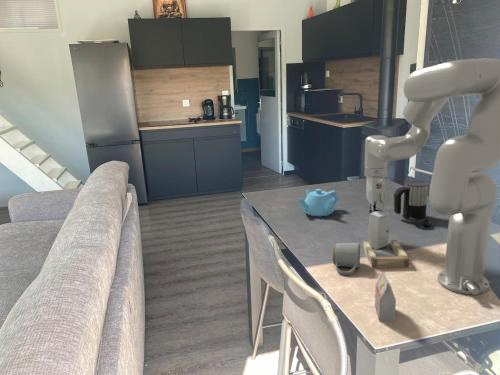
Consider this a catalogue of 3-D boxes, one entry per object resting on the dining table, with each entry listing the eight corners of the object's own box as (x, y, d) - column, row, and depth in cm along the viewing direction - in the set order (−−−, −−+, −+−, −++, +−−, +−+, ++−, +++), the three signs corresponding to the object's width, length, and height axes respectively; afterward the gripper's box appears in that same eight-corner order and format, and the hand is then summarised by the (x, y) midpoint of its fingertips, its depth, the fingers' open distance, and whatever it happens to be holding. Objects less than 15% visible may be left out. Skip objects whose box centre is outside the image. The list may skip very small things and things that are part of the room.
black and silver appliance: (412, 211, 165) (414, 178, 161) (446, 222, 151) (449, 186, 147) (389, 219, 158) (390, 184, 154) (422, 230, 145) (424, 193, 141)
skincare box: (376, 250, 131) (379, 217, 127) (366, 245, 135) (368, 213, 131) (388, 245, 134) (391, 212, 130) (378, 240, 138) (380, 209, 134)
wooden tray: (408, 267, 118) (409, 258, 117) (372, 267, 119) (372, 259, 118) (395, 248, 132) (396, 240, 131) (362, 248, 132) (363, 240, 132)
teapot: (332, 220, 161) (332, 195, 158) (297, 217, 167) (297, 193, 164) (339, 208, 175) (339, 185, 172) (306, 206, 180) (306, 184, 178)
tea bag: (389, 306, 99) (391, 271, 96) (394, 321, 93) (396, 284, 90) (374, 305, 100) (376, 270, 97) (378, 321, 93) (380, 284, 91)
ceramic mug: (334, 259, 126) (334, 237, 124) (360, 261, 124) (360, 239, 122) (331, 275, 117) (331, 252, 114) (359, 277, 114) (359, 254, 112)
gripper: (392, 176, 125) (390, 228, 130) (381, 166, 140) (379, 213, 145) (369, 177, 126) (368, 229, 131) (360, 167, 141) (359, 214, 145)
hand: (374, 220), depth 138 cm, fingers closed
